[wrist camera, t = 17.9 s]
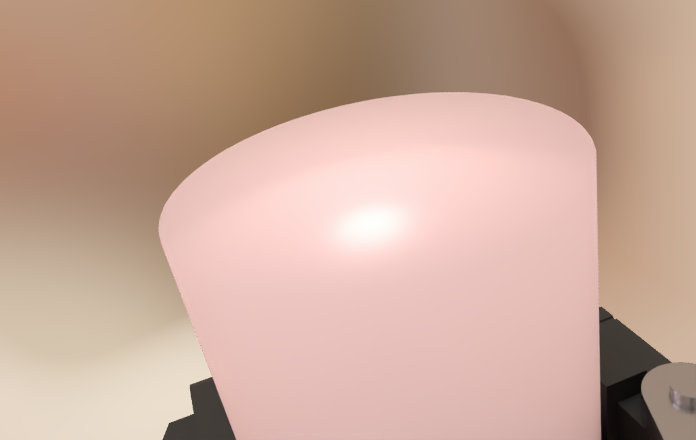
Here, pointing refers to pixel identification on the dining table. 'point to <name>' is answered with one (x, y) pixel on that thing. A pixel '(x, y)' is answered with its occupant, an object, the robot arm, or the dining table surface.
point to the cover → (398, 272)
